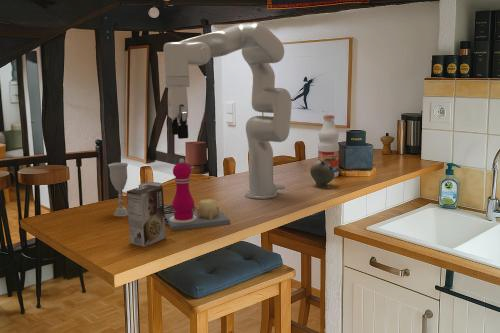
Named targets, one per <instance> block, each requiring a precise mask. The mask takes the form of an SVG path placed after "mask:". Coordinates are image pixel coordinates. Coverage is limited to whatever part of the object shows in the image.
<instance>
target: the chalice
mask: <svg viewBox="0 0 500 333" xmlns="http://www.w3.org/2000/svg"><path fill="white" fill-rule="evenodd" d="M128 165H129V163H127V162H112V163H110V164H109V163H108V164H107V166H108V168H109V178H110V181H111V184H112V186H113V187H114V189H115V191H118V195H117V197H118V201H117V202H118V203H119V206H118V207H117V208H116V209H115V212H114V214H113V216H114V217H126V216H128V209H127V208H126V207H125V206H123V202H124V200H123V199H122V197H123V195H122V191H124V189H125V186H126V184H127V181H128V168H127V167H128Z"/></svg>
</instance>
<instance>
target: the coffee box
mask: <svg viewBox="0 0 500 333" xmlns="http://www.w3.org/2000/svg"><path fill="white" fill-rule="evenodd" d="M163 188H164V187H163V186H162V187H158V186H154V185H146V186H142V187H139V186H138V187H135V188H132V189H129V190H126V200H127V212H128V215H127V217H128V227H129V228H128V229H129V241H130V242H129V243H130V244H131V245H136V246H138V247H139V246H140V247H144V248H146V247H148V246H151V245H153V244H155V243H157V242H159V241H160V242H161V241H163V240H164V239H166V238H167V234H166V232H167V231H166V220H165V215H166V214H165V204H164V203H165V202H164V189H163Z"/></svg>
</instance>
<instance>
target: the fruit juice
mask: <svg viewBox="0 0 500 333" xmlns="http://www.w3.org/2000/svg"><path fill="white" fill-rule="evenodd" d="M339 136H340V134H339V131H338V129H337V127H336V124H335V115H334V114H333V115H332V114H326V115H323V124H322V127H321V129H320V130H319V132H318V139H319V141H318V150H317V152H318V153H317V154H318V155H317V161H319V159H320V160H321V161H327V162H329V164H330V165H331V166H332V168H333V169H332V170H331V171H332V172H333V173H334V174H335V175H334V178H337V177H339V167H340V166H339V164H340V160H339V159H340V157H339V156H340V145H339V142H338V141H339V138H340V137H339Z"/></svg>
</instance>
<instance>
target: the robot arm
mask: <svg viewBox="0 0 500 333" xmlns="http://www.w3.org/2000/svg"><path fill="white" fill-rule="evenodd" d="M240 50H241V55H242V57H243V59H244V61H245V62H246V63H247V65H248V67H249V68H250V70H251V73H252V88H251V90H252V91H251V107H252V109H253V110H254V111H255V112H257V113H258V112H259V113H264V114H266V113H268V114H273V116H270V115H269V116H268V115H255V116H251V117H250V118H249V119H248V120H247V121H246V124H245V134H246V137H247V139H246V140H247V144H248V145H247V146H248V170H249V171H248V172H249V176H248V177H249V178H248V179H249V180H248V182H249V190H247V191H246V192H245V196H246V197H247V198H250V199H254V200H257V199H258V200H265V199H266V200H267V199H273V198H275V197H277V196H278V190H285V189H286V185H285V184H279V183H278V184H276V183H274V150H273V146H272V145H271V143H270V142H273V143H274V142H275V143H282V142H285V141H286V140H287V139H288V137H289V136H290V135H289V134H290V130H291V118H292V116H291V115H292V97H291V93H290V92H289V91H288V90H287V89H285V88H283V87H275V85H276V74H275V71H274V69H273V67H272V66H271V64H276V63H279V62H281V61H282V60H283V59H284V56H285V47H284V44H283V43H282V41H281V40H280V39H279V38H278V37H277V35H275V34H274V33H273V32H272V31H271V30H270V29H269V28H268V27H266V25H264V24H262V23H260V22H247V23H237V24H235V25H231V26H229V27H226V28H223V29H219V30H216V31H213V32H209V33H205V34H201V35H198V36H194V37H190V38H186V39H183V40H180V41H170V42H165V43H164V45H163V64H164V82H165V88H168V89H167V90H168V91H167V116H168V117H169V118H170V119H171V133H172V136H177V138H178V139H179V140H181V139H182V140H183V139H188V138H189V125H188V124H189V122H188V119H189V102H188V101H189V100H188V89H187V88H190V71H189V69H190V66H191V67H193V66H196V67H197V66H203V65H205V64H208V62H209V61H210V59H211V58H219V57H224V56H227V55H230V54H232V53H234V52H237V51H240Z"/></svg>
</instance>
